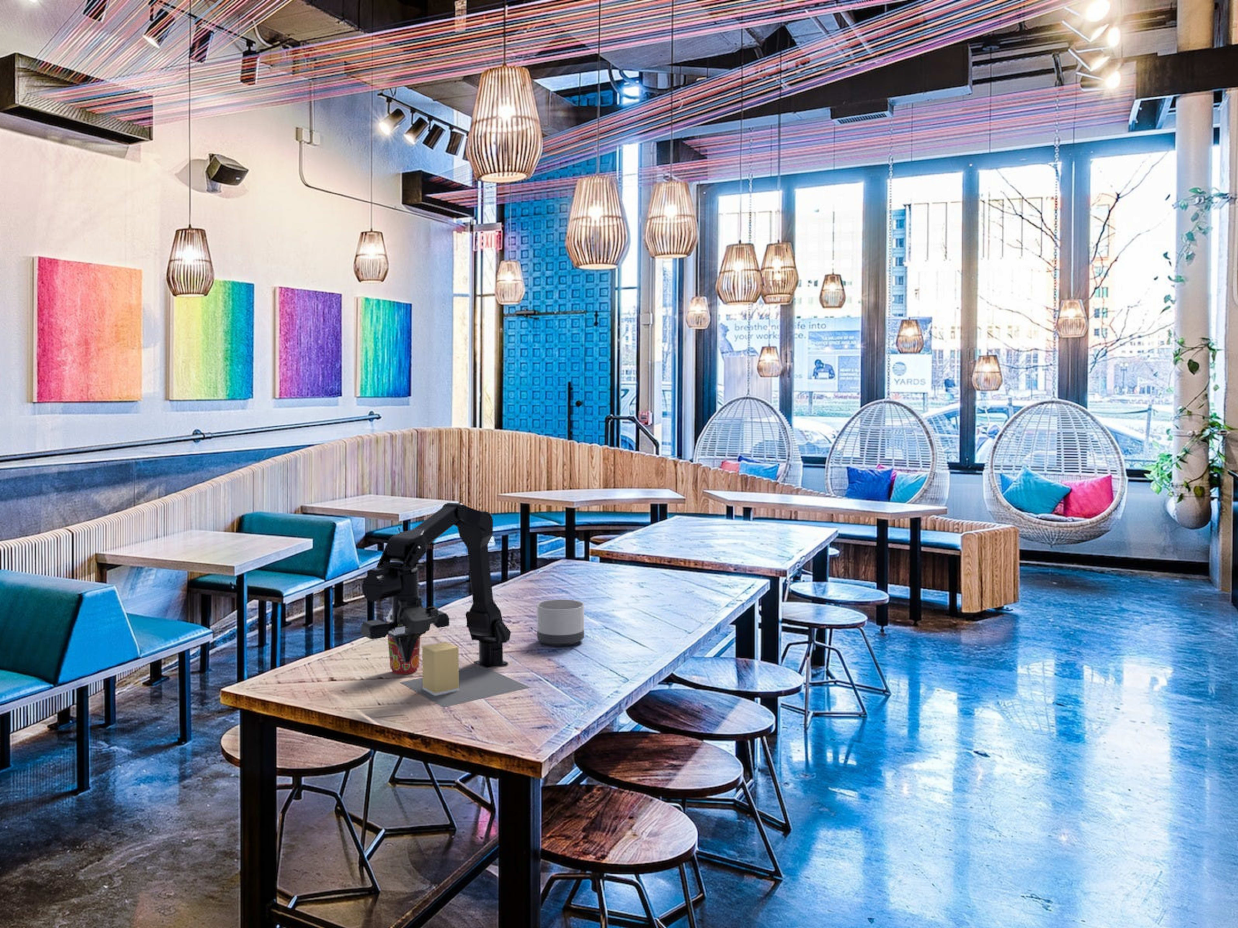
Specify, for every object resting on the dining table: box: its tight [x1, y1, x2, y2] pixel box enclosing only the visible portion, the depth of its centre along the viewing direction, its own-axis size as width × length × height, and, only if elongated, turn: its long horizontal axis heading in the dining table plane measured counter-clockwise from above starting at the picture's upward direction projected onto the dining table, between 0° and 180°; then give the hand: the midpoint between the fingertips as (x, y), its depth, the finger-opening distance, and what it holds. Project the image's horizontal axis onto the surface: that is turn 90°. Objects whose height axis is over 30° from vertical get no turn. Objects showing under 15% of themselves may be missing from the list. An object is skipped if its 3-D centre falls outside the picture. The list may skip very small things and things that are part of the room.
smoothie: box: [385, 608, 421, 675], centre depth 226 cm, size 8×8×20 cm
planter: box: [536, 598, 585, 647], centre depth 254 cm, size 13×13×10 cm
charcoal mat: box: [399, 665, 531, 708], centre depth 215 cm, size 22×22×1 cm
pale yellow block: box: [421, 641, 460, 696], centre depth 211 cm, size 6×6×10 cm
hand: (406, 662), depth 206 cm, fingers closed
